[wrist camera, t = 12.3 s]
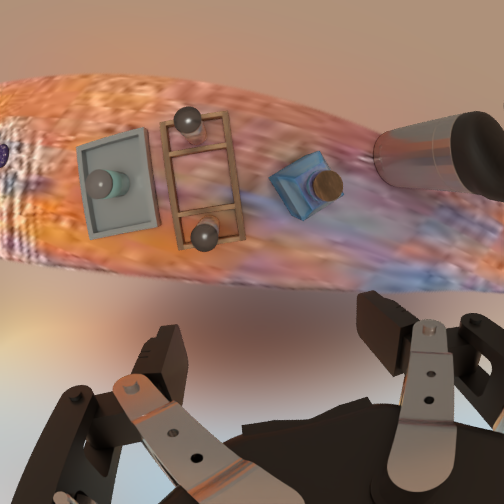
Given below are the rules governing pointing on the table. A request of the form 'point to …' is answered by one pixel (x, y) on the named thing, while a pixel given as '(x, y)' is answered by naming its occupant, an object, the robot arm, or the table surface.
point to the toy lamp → (3, 154)
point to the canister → (206, 234)
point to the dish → (140, 191)
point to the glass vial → (190, 125)
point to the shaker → (106, 184)
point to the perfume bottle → (307, 185)
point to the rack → (172, 188)
